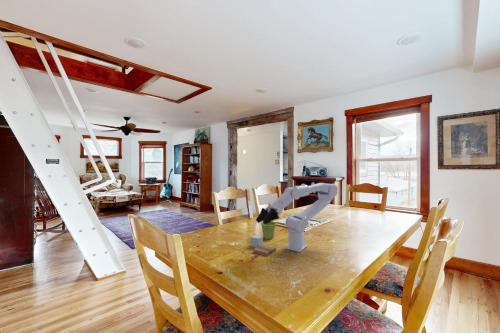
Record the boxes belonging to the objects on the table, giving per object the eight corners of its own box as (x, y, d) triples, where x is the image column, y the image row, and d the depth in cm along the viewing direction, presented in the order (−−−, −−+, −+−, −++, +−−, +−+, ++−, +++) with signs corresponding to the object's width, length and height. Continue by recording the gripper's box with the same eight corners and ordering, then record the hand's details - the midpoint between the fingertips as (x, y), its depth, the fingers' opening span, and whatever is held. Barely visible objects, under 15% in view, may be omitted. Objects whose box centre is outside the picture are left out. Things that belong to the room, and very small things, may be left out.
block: (255, 243, 125) (255, 234, 125) (262, 245, 122) (262, 236, 122) (250, 246, 121) (250, 237, 121) (258, 248, 118) (258, 238, 118)
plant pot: (274, 241, 129) (274, 225, 129) (258, 239, 132) (258, 224, 132) (278, 236, 138) (278, 221, 138) (262, 234, 141) (262, 220, 141)
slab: (262, 248, 120) (262, 244, 119) (275, 251, 115) (275, 247, 115) (253, 253, 113) (253, 249, 113) (267, 257, 108) (267, 253, 108)
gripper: (268, 197, 119) (249, 214, 114) (283, 197, 106) (262, 216, 101) (276, 208, 120) (257, 225, 115) (291, 209, 107) (271, 228, 101)
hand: (260, 222), depth 108 cm, fingers open, 7 cm apart
